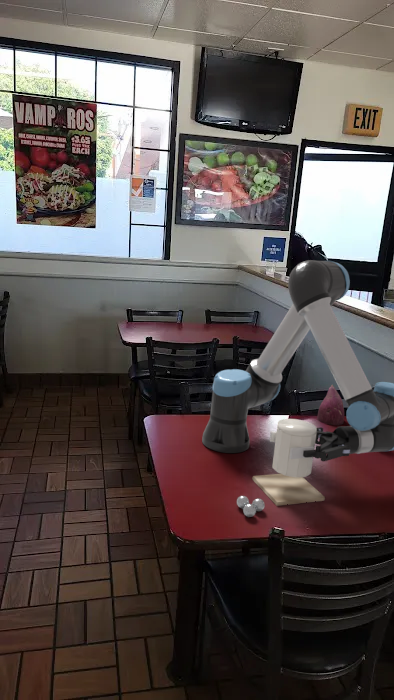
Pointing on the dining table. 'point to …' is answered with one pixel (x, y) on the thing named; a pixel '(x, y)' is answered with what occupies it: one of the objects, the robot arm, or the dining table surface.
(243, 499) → the marble
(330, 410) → the vegetable
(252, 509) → the marble
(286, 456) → the white rounded cylinder
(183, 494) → the dining table surface
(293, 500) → the coaster
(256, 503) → the marble
